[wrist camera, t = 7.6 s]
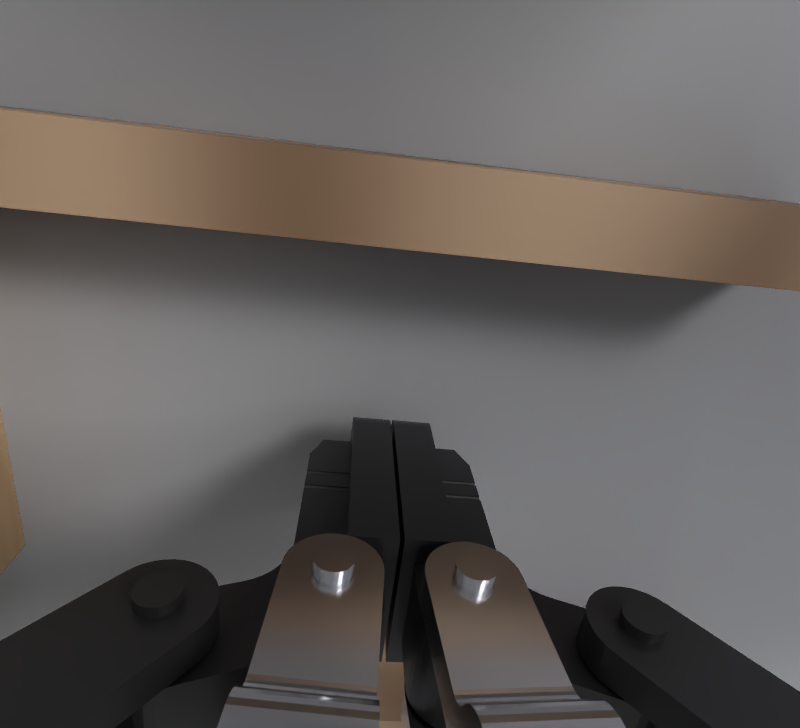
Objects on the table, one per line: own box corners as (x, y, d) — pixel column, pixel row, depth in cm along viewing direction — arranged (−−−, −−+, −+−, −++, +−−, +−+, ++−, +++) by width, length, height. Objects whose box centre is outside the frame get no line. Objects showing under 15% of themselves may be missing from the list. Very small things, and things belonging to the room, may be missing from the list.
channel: (785, 202, 10) (1016, 235, 7) (620, 666, 15) (706, 841, 11) (-660, 25, 8) (-1510, -70, 4) (-353, 637, 13) (-654, 845, 9)
